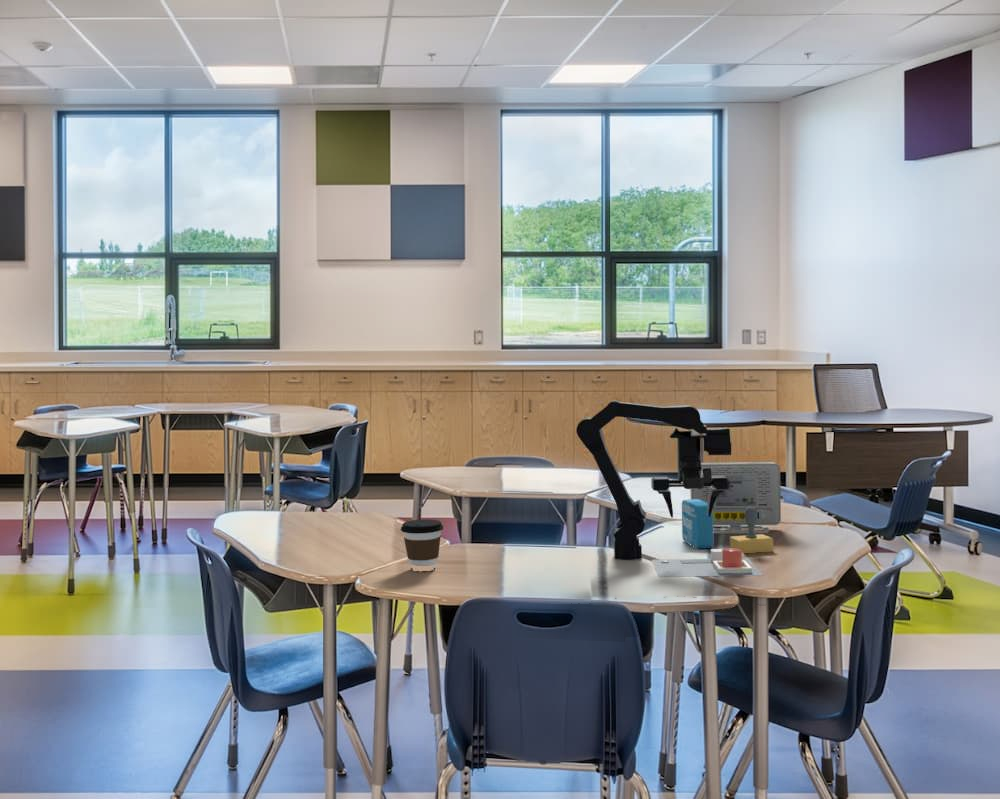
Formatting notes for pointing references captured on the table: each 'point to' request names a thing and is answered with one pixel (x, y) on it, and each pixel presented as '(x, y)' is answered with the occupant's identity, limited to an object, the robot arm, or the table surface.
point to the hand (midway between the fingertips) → (690, 517)
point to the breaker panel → (702, 568)
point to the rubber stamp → (752, 536)
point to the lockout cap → (731, 558)
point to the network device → (744, 495)
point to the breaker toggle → (716, 554)
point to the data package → (697, 524)
